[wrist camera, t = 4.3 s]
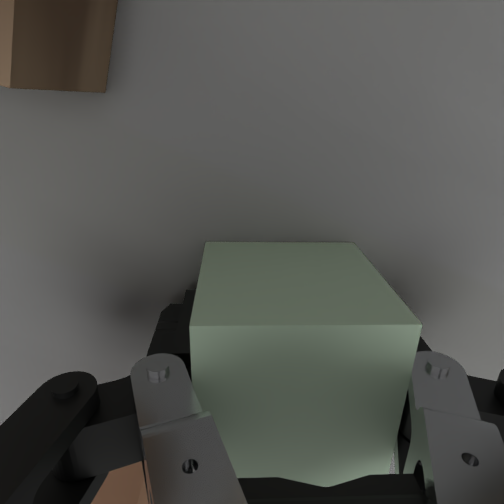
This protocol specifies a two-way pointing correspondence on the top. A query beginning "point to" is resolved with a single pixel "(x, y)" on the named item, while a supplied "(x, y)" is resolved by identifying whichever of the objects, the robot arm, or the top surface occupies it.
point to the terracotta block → (123, 486)
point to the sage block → (301, 359)
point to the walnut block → (56, 44)
